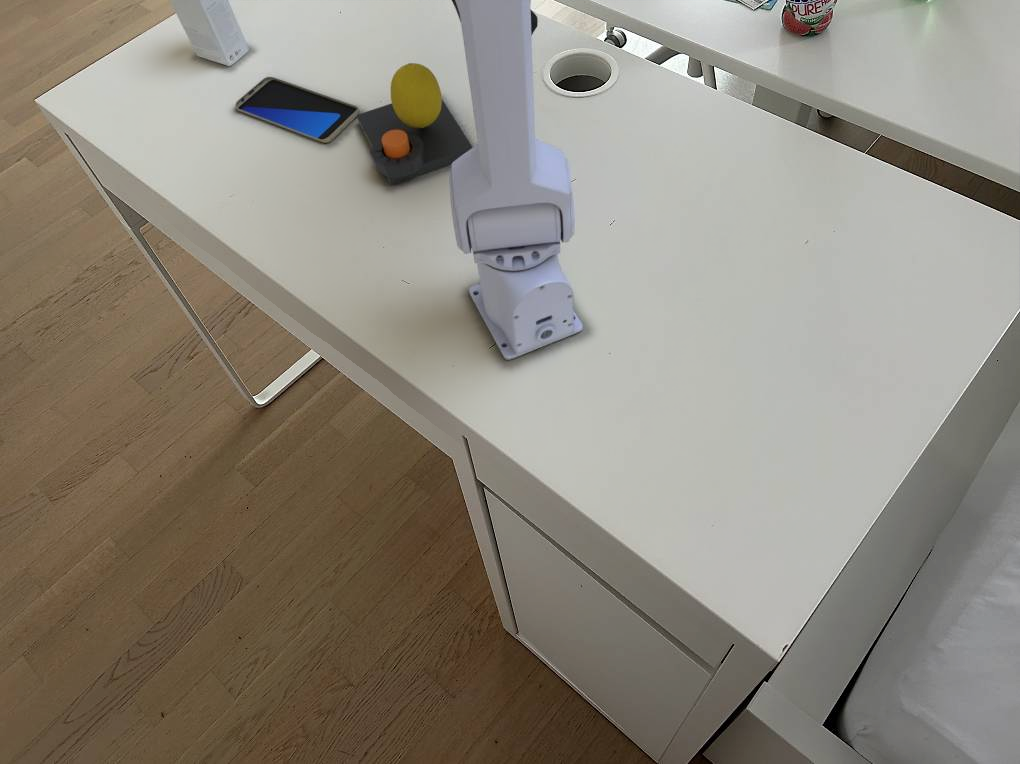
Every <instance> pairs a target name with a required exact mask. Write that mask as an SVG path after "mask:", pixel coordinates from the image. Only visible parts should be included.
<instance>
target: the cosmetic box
mask: <svg viewBox="0 0 1020 764" xmlns="http://www.w3.org/2000/svg"><path fill="white" fill-rule="evenodd" d="M169 2H170V4H171V6H172V8H173V11H174V12H175V15H176V17H177V18H178V20H179V22H180V24H181V26H182V29H183V31H184V32H185V34H186V36H187V38H188V40H189V42H190V44H191V46H192V49H193V50H194V52H195V54H196V56H197V57H198V58H203V59H205V60H209V61H212V62H215V63H218V64H221V65H224V66H227V67H231V66H233V65H234V64H235V63H237V62H238V61H239V60H240V59H241V58H243V57H244V56H245V55H246V54H247V53H248V52H249V51H250V50H249V46H248V44H247V42H246V39H245V36H244V34H243V32H242V30H241V27H240V25H239V23H238V20H237V17H236V15H235V13H234V11H233V8H232V6H231V4H230V2H229V0H169Z"/></svg>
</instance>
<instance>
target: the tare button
mask: <svg viewBox="0 0 1020 764" xmlns="http://www.w3.org/2000/svg"><path fill="white" fill-rule="evenodd" d="M382 144H383V148H384V152H385V155H386V156H387V157H388V158H390V159H399V158H402V157H405V156H407V155H408V154H409V152H410V146H409V141H408V137H407V134H406V133H405V132H404V131H402V130H391V131H388V132H387V133H385V134H384V135H383V137H382Z"/></svg>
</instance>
